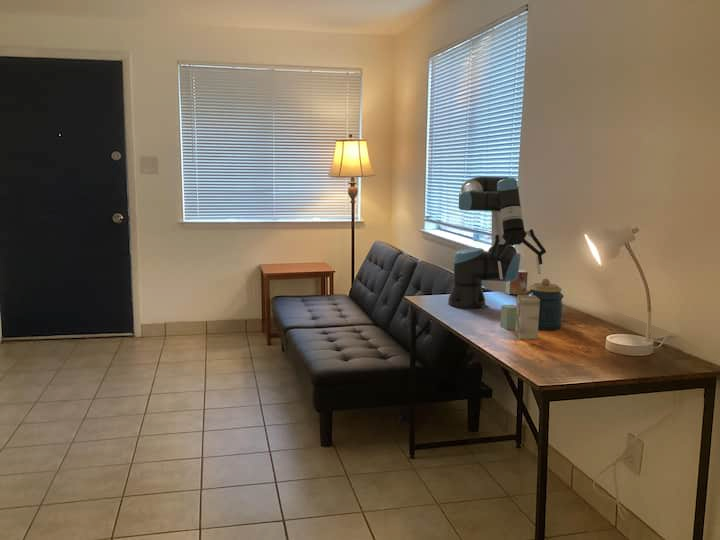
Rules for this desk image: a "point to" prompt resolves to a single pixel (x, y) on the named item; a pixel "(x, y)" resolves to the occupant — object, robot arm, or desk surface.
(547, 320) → the canister
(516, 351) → the desk surface
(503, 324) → the sage block
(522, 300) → the tall white box
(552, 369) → the desk surface
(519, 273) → the small box
